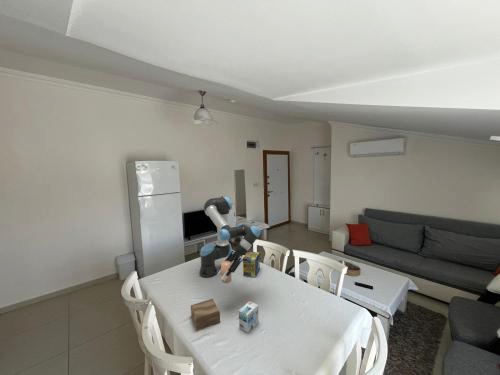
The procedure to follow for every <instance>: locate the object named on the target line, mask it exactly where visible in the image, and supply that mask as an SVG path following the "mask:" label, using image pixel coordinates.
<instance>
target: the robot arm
mask: <svg viewBox="0 0 500 375" xmlns="http://www.w3.org/2000/svg"><path fill="white" fill-rule="evenodd" d="M232 208H233V203H232V200H231V199H230V198H229V197H228V196H221V197H214V198H209V199H207V200H206V201H205V203H204V205H203V211H204V214H205V215H206V216H207V217H209V218H210V220H211V221H212V223H213V224H214V225H215V226H216V230H217V241H216V242H215V245H213V244H206V245H204V246H202V247H201V249H200V252H199V255H200V267H199V271H198V273H199V276H200V277H201V278H212V277H215V276H217V275H218V276H220V277H221V281H222V280H224V281H225V280H226V278H227V277H228V276H229V275H230V273H231V274H232V273H235V272H236V270H237V269H238V267H239V266H240V265H241V263H243V258H242V257H244V256H245V255H246V254H247V252H248V251H249V250H250V248H251V247H252V246H253V244H254V243H255V242H256V241H257V239H258V238H259V237H260V235H261V233H262V231H261V230H260V229H259V228H258V227H257V226H255V225H252V226H251V227H250V226H249V225H247V224H245V223H239V224H237V226H230V224H229V223H228V215H229V214H230V211H231V210H232ZM237 238H242V239H241V240H240V242H239V244H237V245H236V247H235V250H233V249H232V245H231V243H230V242H229V240H233V239H237ZM223 258H224V259H225V258H226V259H225V260H224V261H230V262H231V266H230V268H229V269H228V270H227V271H226V273H225V274H224V275H223V277H222V270H221V269H220V270H219V271H218V268H217V265H216V261H217V260H220V259H223Z"/></svg>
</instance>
